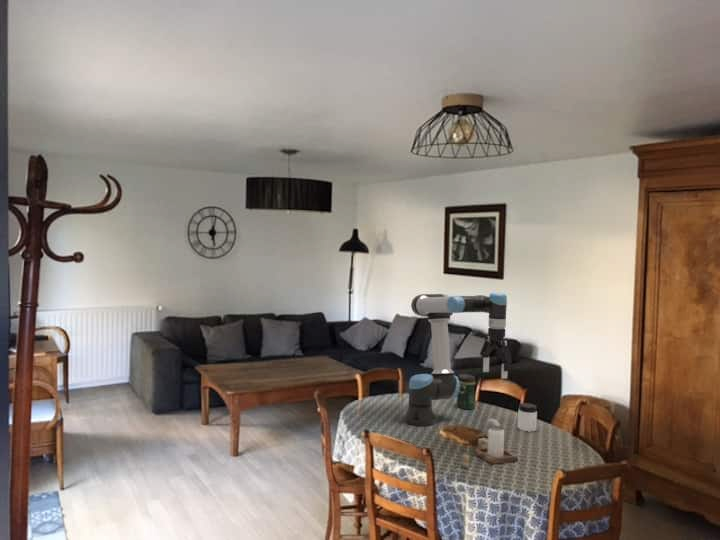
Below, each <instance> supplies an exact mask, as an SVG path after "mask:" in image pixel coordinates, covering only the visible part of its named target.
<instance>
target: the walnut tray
mask: <svg viewBox="0 0 720 540" xmlns="http://www.w3.org/2000/svg"><path fill="white" fill-rule="evenodd" d="M473 455H475V456H476V457H478V458H480V459H482V460H483V461H485V462H487V463H488V464H490V465H491V466H492V465H500V464H507V463H513V462H518V461H519V456H518V455H516V454H514V453H512V452H510V451H509V450H507V449H505V448H504V449H503V457H499V458H492V457H489V456H488V447H487V448H474V449H473Z"/></svg>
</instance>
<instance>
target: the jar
mask: <svg viewBox="0 0 720 540" xmlns="http://www.w3.org/2000/svg"><path fill="white" fill-rule="evenodd" d="M537 410H538V409H537V405H536V404H534V403H529V402H528V403H527V402H521V403H519V407H518V410H517V411H518V413H517V429H519V430H520V431H521V430H522V432H527V431H528V432H529V433H531V431H532V432H535V431H537V424H538V423H537V418H538V411H537Z"/></svg>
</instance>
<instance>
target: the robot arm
mask: <svg viewBox="0 0 720 540" xmlns="http://www.w3.org/2000/svg"><path fill="white" fill-rule="evenodd" d="M507 299H508V297H507V294H505V293H503V292H502V293H500V292H499V293H498V292H492V293H491V292H490V294H489V296H487V295H482V294H478V295H477V294H476V295H452V296H450V295H448V294H444V293H429V294H428V293H426V294H424V293H422V294H418V295H415V297H414V298H413V299H412V300H411V306H410V307H411V310H412V312H413V313H414V314H415V315H417V316H420V317H427V321H428V322H429V323H430V326H431V329H430V330H431V342H432V343H431V345H432V356H433V371H432V372H431V373H430V374H429V373H420V374H415V375H412V376H411V377H410V379H409V384H408V406H407V408H406V411H405V414H404V423H406V424H409V425H412V426H417V427H428V426H432V425H434V424H435V422H436V421H435V420H436V419H435V415H434V414H435V413H434V411H433V406H432V405H433V401H439V400H450V399H454V398H456V397H458V392H459V389H460V382H459V380H458V376H457V375H455V371H454V370H453V369H452V368H451V366H452V365H451V352H450V350H451V349H450V339H449V326H448V325H449V324H448V323H449V321H450V320H451V316H452V315H453V314H454V313H455V314H458V313H459V314H461V313H486V314H488V328H487V336H486V335H485V336H484V342H483V345H482V347H481V350H480V353H479V354H480V356H481V357H482V364H483V365H482V373H489V372H490V354H491V353H492V352H493V350H494V349H495V350H496V351H498V354H499V356H500V358H501V361H502V363H501V370H500V371H501V376H500V377H501V378H500V379H503V380H504V379H508V375H509V374H508V373H509V365H510V364H512V363H513V360H512V356H511V352H510V348H509V340H504V338H505V337H506V328H507V327H506V326H507V305H508V302H507V301H508V300H507Z"/></svg>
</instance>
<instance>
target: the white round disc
mask: <svg viewBox="0 0 720 540" xmlns="http://www.w3.org/2000/svg"><path fill="white" fill-rule="evenodd" d="M490 426H500V427H502V426H501V424H500V422H499V421H497V420H496V419H495V418H489V419H487V420H486V421H485V424H484V433H485V435H486V437H487V438H488V431H489V429H490Z"/></svg>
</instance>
